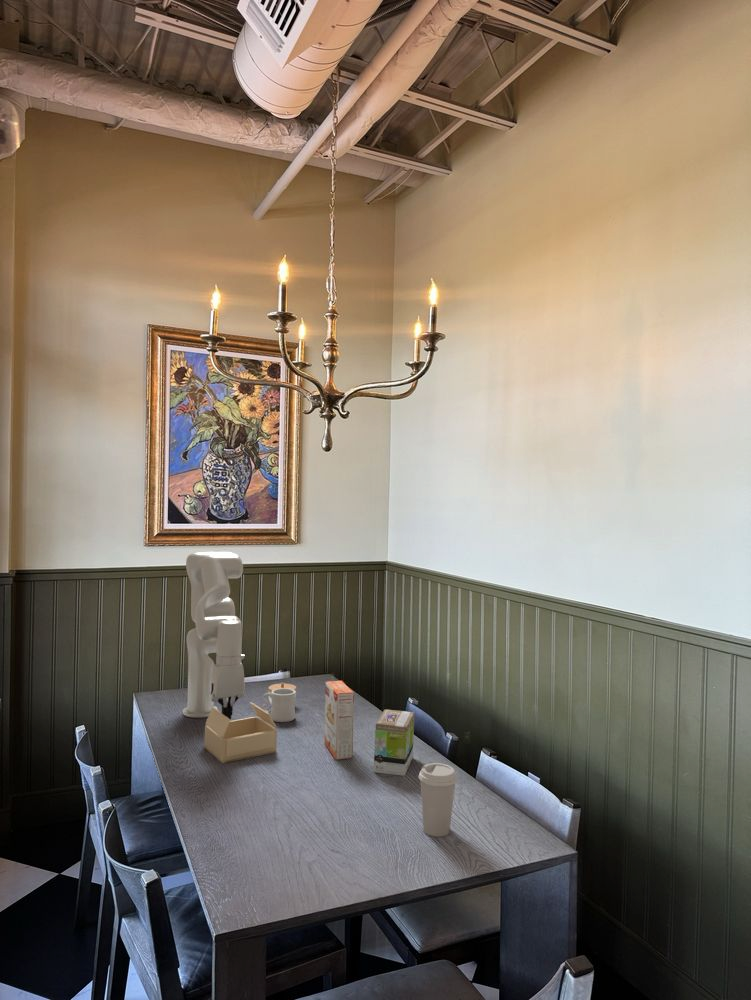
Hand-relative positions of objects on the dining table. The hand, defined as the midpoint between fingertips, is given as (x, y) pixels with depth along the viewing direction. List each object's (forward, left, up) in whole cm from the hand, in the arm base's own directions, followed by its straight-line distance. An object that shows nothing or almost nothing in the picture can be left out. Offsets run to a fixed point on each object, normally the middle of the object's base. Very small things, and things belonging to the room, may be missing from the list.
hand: (226, 718), depth 211 cm
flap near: (0, -3, -1) cm, 3 cm away
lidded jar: (-32, +36, -11) cm, 49 cm away
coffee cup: (+73, +25, -11) cm, 78 cm away
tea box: (+35, +40, -11) cm, 54 cm away
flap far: (0, +12, -1) cm, 12 cm away
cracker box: (+17, +31, -11) cm, 37 cm away
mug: (-21, +29, -11) cm, 37 cm away
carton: (0, +5, -11) cm, 12 cm away
